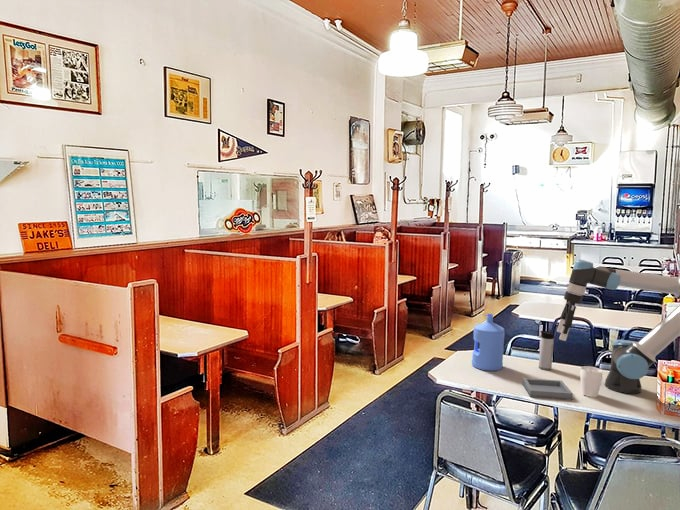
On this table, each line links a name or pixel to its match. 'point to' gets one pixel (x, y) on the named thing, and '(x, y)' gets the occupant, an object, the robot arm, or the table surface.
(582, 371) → the cup
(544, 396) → the tray
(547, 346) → the travel mug
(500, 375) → the table surface
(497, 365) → the water jug
